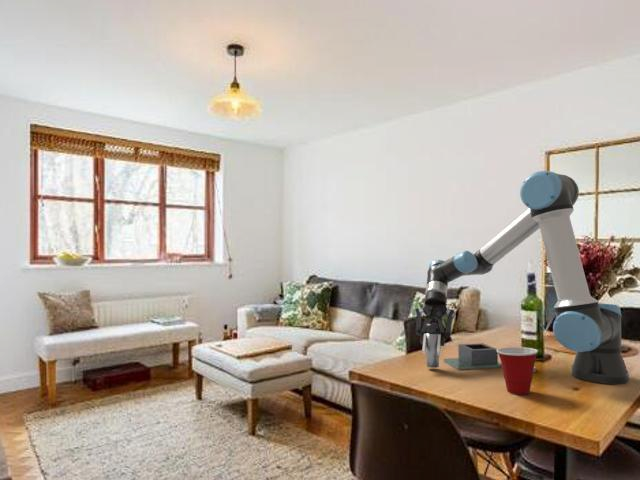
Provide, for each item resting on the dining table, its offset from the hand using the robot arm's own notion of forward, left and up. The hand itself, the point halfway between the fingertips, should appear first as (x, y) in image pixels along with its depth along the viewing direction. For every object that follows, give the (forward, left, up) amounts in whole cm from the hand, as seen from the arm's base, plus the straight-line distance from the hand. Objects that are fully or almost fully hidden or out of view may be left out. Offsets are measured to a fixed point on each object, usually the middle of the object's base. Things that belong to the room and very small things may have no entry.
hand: (431, 352), depth 148 cm
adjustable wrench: (-9, -25, -7) cm, 27 cm away
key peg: (+3, -2, -5) cm, 6 cm away
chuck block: (+7, -18, -6) cm, 20 cm away
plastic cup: (-23, -16, -7) cm, 28 cm away
